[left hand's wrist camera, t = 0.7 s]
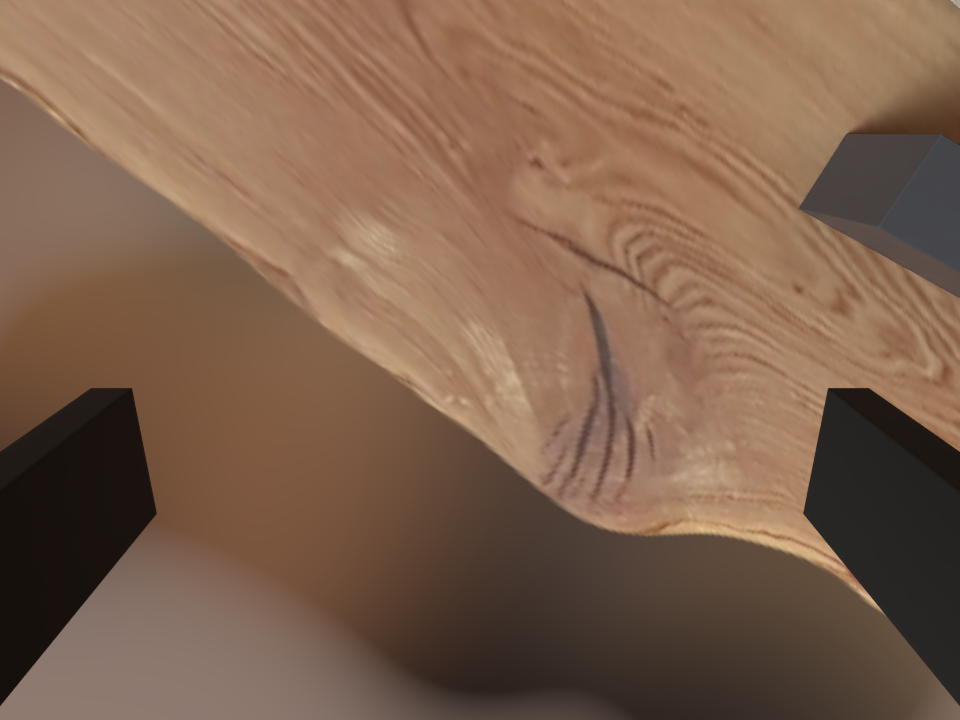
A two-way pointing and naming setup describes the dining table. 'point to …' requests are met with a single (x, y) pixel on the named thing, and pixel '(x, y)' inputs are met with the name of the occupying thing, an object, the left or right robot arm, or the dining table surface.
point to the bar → (896, 200)
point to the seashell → (956, 3)
